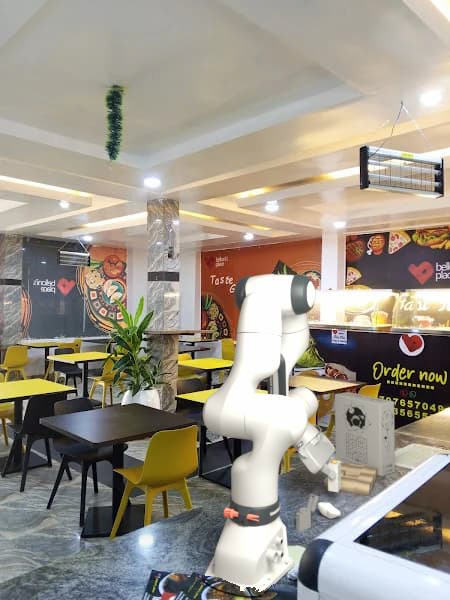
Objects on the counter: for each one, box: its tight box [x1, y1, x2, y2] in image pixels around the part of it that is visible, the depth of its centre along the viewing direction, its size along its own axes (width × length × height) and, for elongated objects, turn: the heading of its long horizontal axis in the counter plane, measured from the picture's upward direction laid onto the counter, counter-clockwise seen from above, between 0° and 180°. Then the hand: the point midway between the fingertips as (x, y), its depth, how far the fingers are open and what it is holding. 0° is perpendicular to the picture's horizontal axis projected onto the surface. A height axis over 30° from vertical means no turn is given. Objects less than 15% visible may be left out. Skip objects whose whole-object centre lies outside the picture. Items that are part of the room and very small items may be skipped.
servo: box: [327, 458, 342, 493], centre depth 144 cm, size 4×3×9 cm
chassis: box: [323, 462, 379, 497], centre depth 157 cm, size 18×14×3 cm
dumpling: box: [317, 501, 341, 520], centre depth 133 cm, size 7×5×4 cm
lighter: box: [295, 493, 319, 532], centre depth 127 cm, size 7×2×8 cm, turn 126°
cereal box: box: [334, 391, 396, 477], centre depth 173 cm, size 22×8×25 cm, turn 32°
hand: (336, 474), depth 143 cm, fingers closed on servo, 4 cm apart
